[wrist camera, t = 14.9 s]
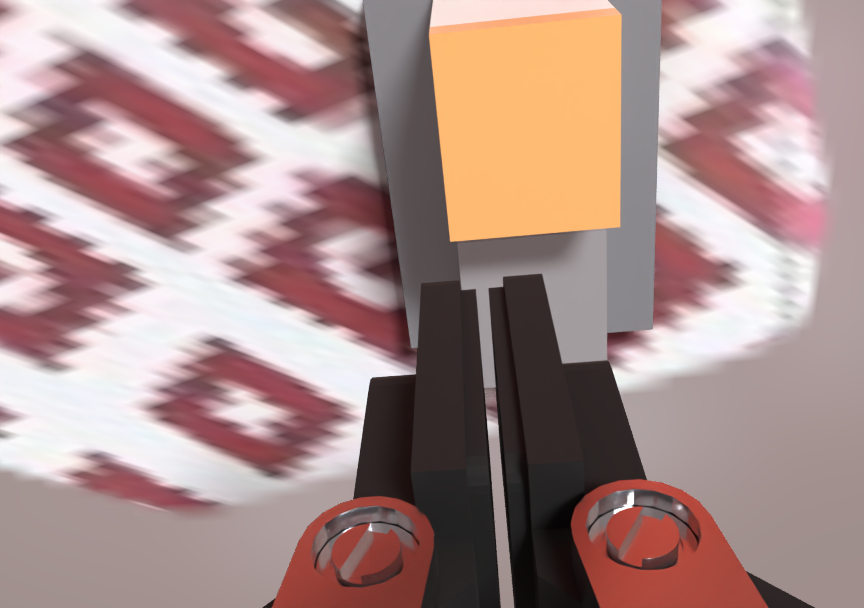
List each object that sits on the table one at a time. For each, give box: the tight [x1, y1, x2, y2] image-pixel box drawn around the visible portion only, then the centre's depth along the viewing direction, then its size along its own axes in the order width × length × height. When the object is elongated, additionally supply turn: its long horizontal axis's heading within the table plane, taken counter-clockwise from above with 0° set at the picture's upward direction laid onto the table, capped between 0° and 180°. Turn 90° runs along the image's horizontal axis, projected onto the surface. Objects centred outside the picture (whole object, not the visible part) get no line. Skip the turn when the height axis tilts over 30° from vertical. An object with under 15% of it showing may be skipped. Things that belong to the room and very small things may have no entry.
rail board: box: [363, 0, 662, 388], centre depth 30 cm, size 10×14×6 cm
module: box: [429, 0, 622, 242], centre depth 26 cm, size 5×6×7 cm
